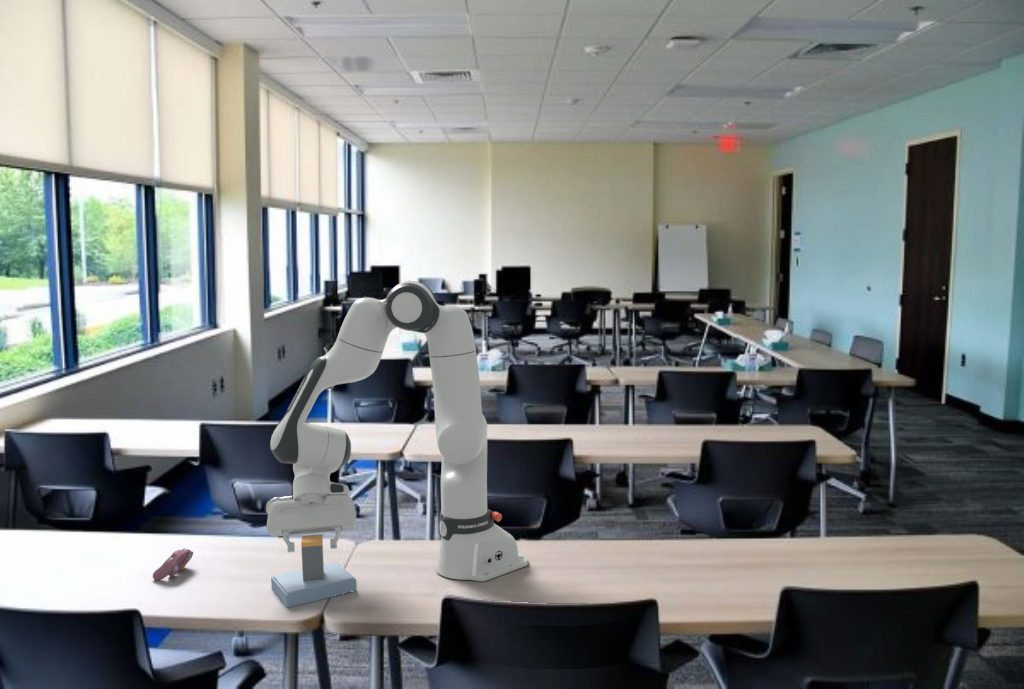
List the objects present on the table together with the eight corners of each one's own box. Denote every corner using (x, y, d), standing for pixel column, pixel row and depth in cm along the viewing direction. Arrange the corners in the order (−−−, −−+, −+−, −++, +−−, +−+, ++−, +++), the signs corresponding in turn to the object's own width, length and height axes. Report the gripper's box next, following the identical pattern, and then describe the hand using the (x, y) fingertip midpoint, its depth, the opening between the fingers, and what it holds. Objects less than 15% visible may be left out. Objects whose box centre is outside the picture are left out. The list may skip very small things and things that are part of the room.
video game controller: (165, 588, 196) (176, 563, 195) (149, 579, 197) (160, 554, 195) (189, 572, 206) (199, 548, 205) (173, 563, 206) (183, 539, 205)
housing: (303, 573, 192) (302, 535, 191) (323, 571, 193) (322, 534, 192) (303, 581, 187) (301, 542, 186) (323, 579, 188) (321, 541, 187)
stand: (338, 573, 200) (338, 560, 199) (356, 591, 190) (356, 577, 189) (271, 588, 191) (271, 575, 191) (286, 607, 181) (286, 593, 181)
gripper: (265, 491, 193) (263, 547, 185) (354, 485, 197) (357, 539, 189) (267, 504, 198) (266, 559, 190) (355, 498, 202) (357, 551, 194)
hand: (312, 549), depth 189 cm, fingers open, 8 cm apart
